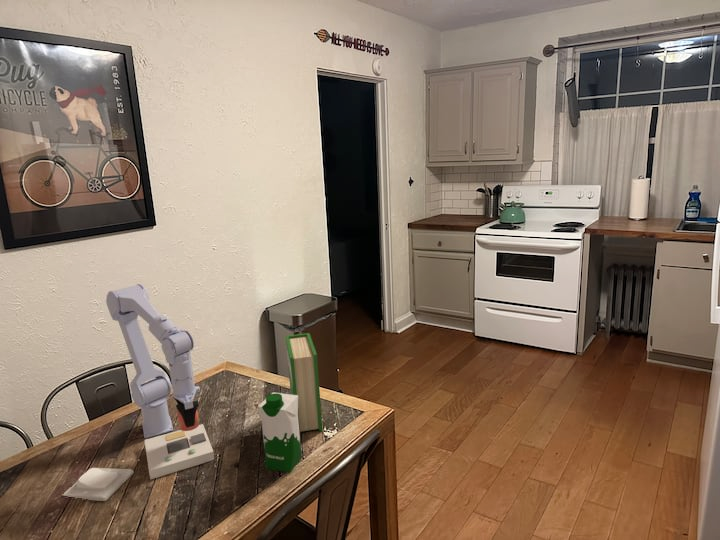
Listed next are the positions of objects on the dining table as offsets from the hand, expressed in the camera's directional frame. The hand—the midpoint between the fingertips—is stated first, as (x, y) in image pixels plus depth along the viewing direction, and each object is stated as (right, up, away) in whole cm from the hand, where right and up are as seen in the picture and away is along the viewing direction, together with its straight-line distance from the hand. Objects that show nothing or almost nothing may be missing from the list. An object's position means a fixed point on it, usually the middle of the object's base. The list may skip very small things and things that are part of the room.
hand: (188, 421), depth 135 cm
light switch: (-19, -13, -11) cm, 26 cm away
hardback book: (+31, -4, +15) cm, 35 cm away
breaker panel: (-2, -9, 0) cm, 9 cm away
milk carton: (+28, -9, -6) cm, 30 cm away
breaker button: (-2, -9, 0) cm, 9 cm away
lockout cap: (0, -1, 0) cm, 1 cm away
